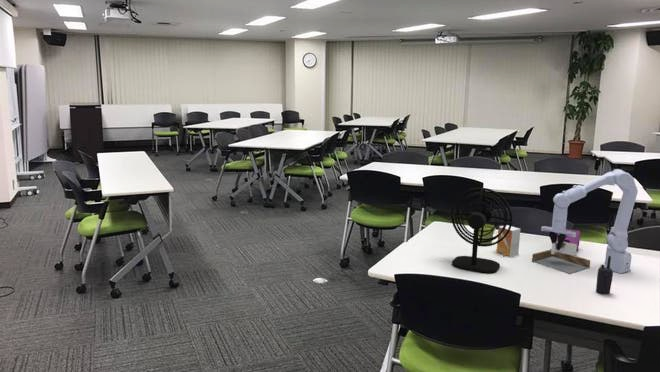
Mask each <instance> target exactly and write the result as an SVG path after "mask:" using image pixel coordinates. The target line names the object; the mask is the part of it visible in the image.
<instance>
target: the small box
mask: <svg viewBox="0 0 660 372" xmlns="http://www.w3.org/2000/svg"><path fill="white" fill-rule="evenodd" d="M509 225H510V224H509ZM509 225H506V228H505V229H504V231H503V232H502V233H501V235H500V236H499V237H497V241H498V240H500V239H501V238H502V237H503V236H504V235H505V234H506V232H507V231H508V228H509ZM502 228H503V225H500V226H498V230H497V235H498V234H499V233H500V232H501V230H502ZM521 231H522V228H519V227H515V226H511V229H510V231H509V233H508V234H507V236H506V237H505V238H504V239H503V240H502V241H500V242H499V243H497V244H496V253H499V254H501V255H505V256H507V257H514V256H518V255H519V253H520V252H519V250H520V240H521V239H520V238H521Z"/></svg>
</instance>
